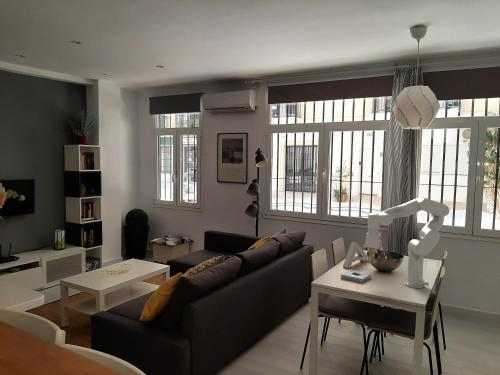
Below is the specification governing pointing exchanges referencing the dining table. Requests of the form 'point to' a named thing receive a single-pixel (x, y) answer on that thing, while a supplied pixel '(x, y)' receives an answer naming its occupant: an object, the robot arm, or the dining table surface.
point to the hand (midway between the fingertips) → (372, 257)
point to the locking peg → (372, 255)
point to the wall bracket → (351, 255)
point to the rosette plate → (356, 276)
